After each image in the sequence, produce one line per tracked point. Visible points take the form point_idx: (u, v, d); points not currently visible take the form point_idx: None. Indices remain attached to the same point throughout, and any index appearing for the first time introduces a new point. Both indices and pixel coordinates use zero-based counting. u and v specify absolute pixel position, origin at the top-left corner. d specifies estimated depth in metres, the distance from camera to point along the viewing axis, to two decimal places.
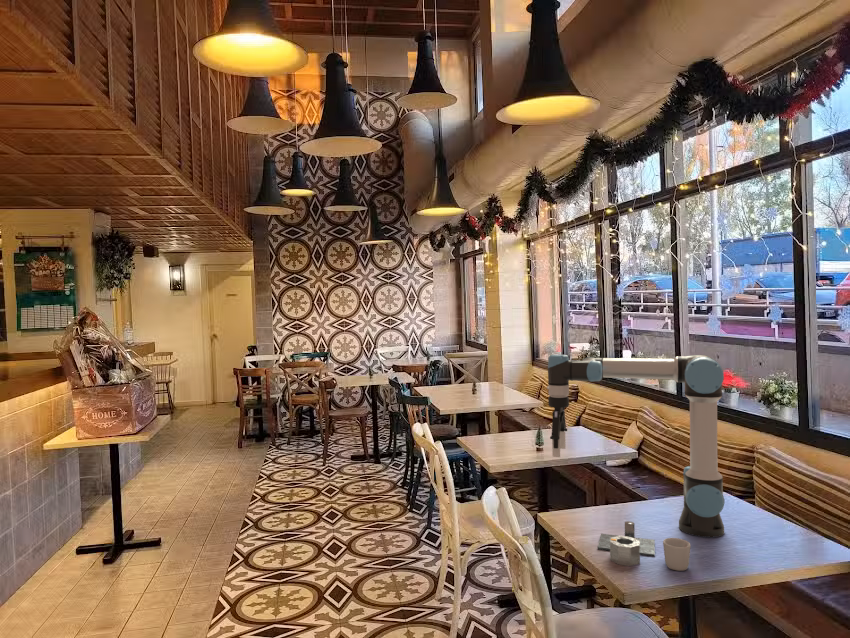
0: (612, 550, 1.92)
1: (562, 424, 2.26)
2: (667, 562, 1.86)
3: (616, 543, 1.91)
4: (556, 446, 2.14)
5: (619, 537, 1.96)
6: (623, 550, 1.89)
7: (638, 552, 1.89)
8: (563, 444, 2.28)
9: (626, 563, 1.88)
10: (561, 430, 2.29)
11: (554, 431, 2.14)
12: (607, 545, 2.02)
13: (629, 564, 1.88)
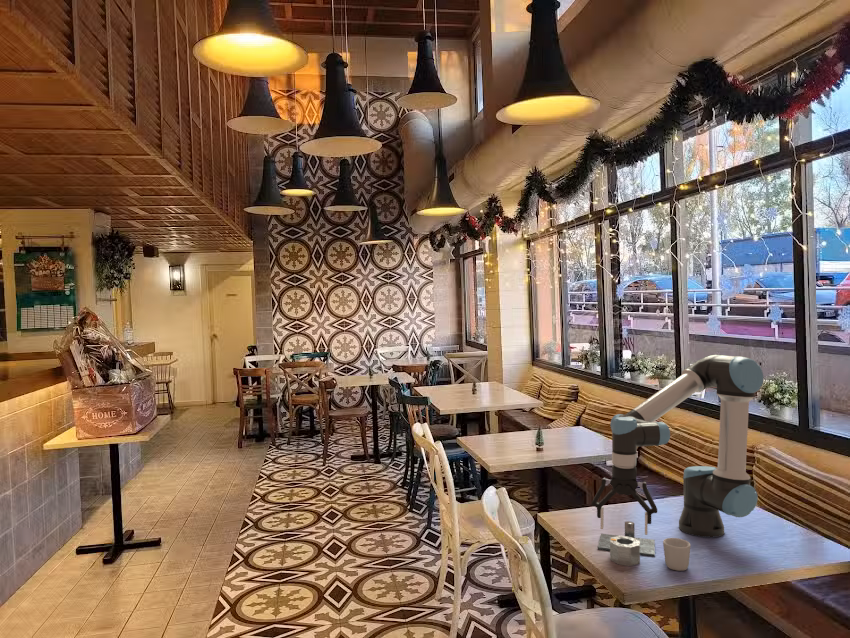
0: (612, 550, 1.92)
1: None
2: (667, 562, 1.86)
3: (616, 543, 1.91)
4: None
5: (619, 537, 1.96)
6: (623, 550, 1.89)
7: (638, 552, 1.89)
8: None
9: (626, 563, 1.88)
10: (647, 512, 1.90)
11: (594, 497, 1.96)
12: (607, 545, 2.02)
13: (629, 564, 1.88)
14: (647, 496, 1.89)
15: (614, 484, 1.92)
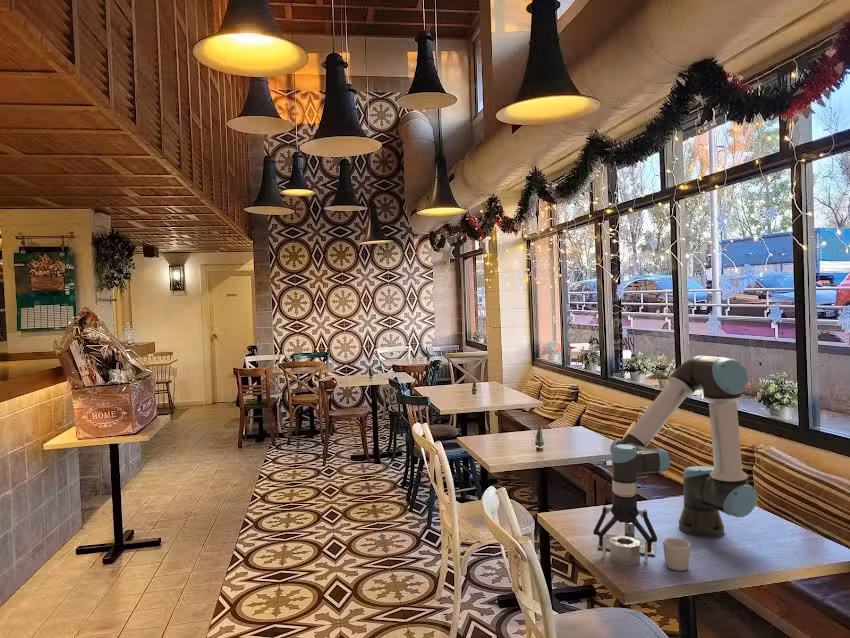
0: (612, 550, 1.92)
1: None
2: (667, 562, 1.86)
3: (616, 543, 1.91)
4: None
5: (619, 537, 1.96)
6: (623, 550, 1.89)
7: (638, 552, 1.89)
8: None
9: (626, 563, 1.88)
10: None
11: (596, 525, 1.96)
12: (607, 545, 2.02)
13: (629, 564, 1.88)
14: (647, 525, 1.89)
15: (615, 512, 1.93)
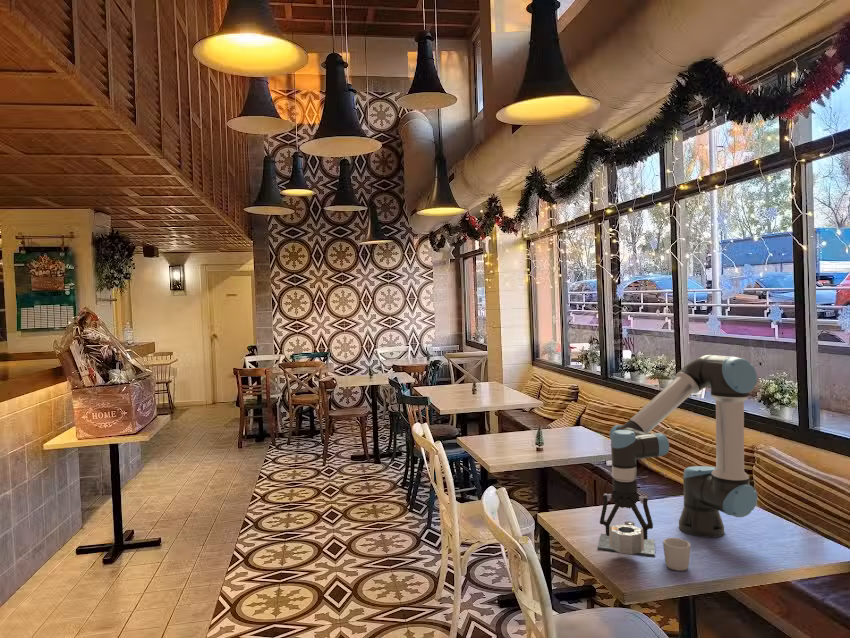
0: (613, 539, 1.92)
1: (637, 517, 1.91)
2: (667, 562, 1.86)
3: (617, 532, 1.91)
4: None
5: (621, 525, 1.97)
6: (624, 538, 1.89)
7: (639, 540, 1.89)
8: (641, 544, 1.91)
9: (628, 551, 1.89)
10: None
11: None
12: (607, 545, 2.02)
13: (631, 552, 1.88)
14: (646, 511, 1.89)
15: (615, 497, 1.93)
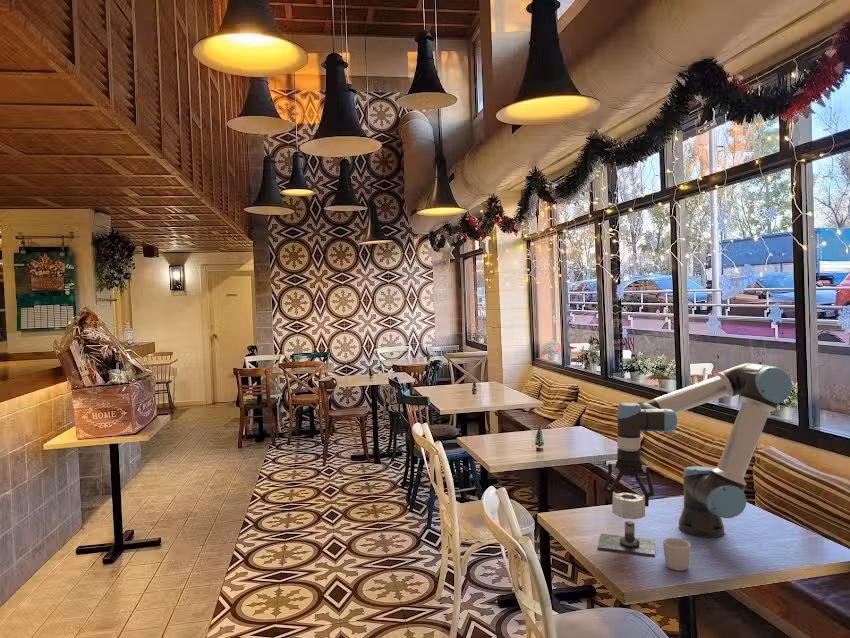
0: (616, 505, 2.03)
1: (639, 485, 2.01)
2: (667, 562, 1.86)
3: (620, 498, 2.02)
4: None
5: (623, 493, 2.07)
6: (627, 504, 1.99)
7: (641, 506, 2.00)
8: None
9: (630, 516, 1.99)
10: (644, 494, 2.02)
11: None
12: (607, 545, 2.02)
13: (632, 517, 1.99)
14: (648, 479, 2.00)
15: (620, 466, 2.03)
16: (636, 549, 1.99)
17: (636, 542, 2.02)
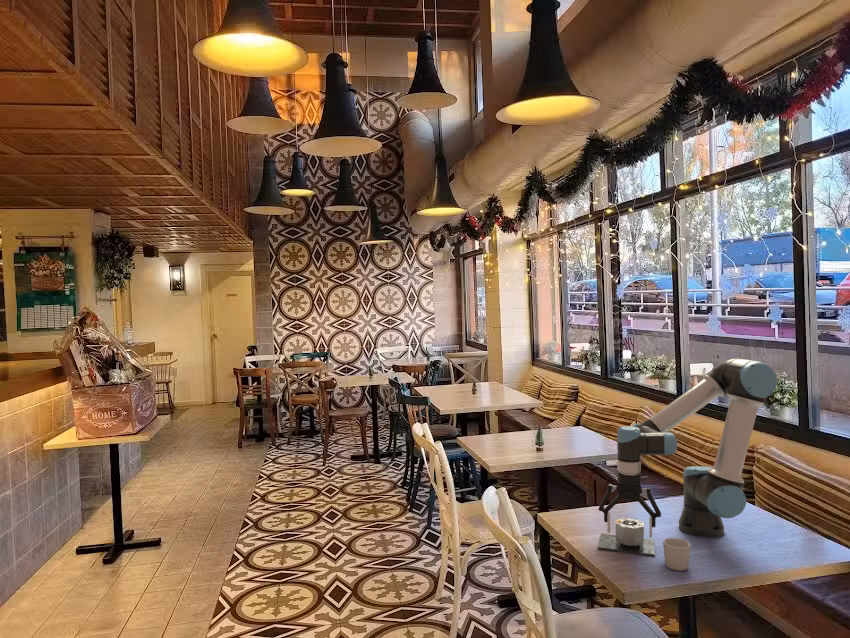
0: (617, 531, 2.03)
1: None
2: (667, 562, 1.86)
3: (621, 524, 2.02)
4: None
5: (624, 519, 2.07)
6: (628, 531, 1.99)
7: (642, 533, 2.00)
8: None
9: (631, 543, 1.99)
10: None
11: (601, 502, 2.07)
12: (607, 545, 2.02)
13: (634, 544, 1.99)
14: (651, 501, 2.00)
15: (620, 490, 2.03)
16: (636, 549, 1.99)
17: None
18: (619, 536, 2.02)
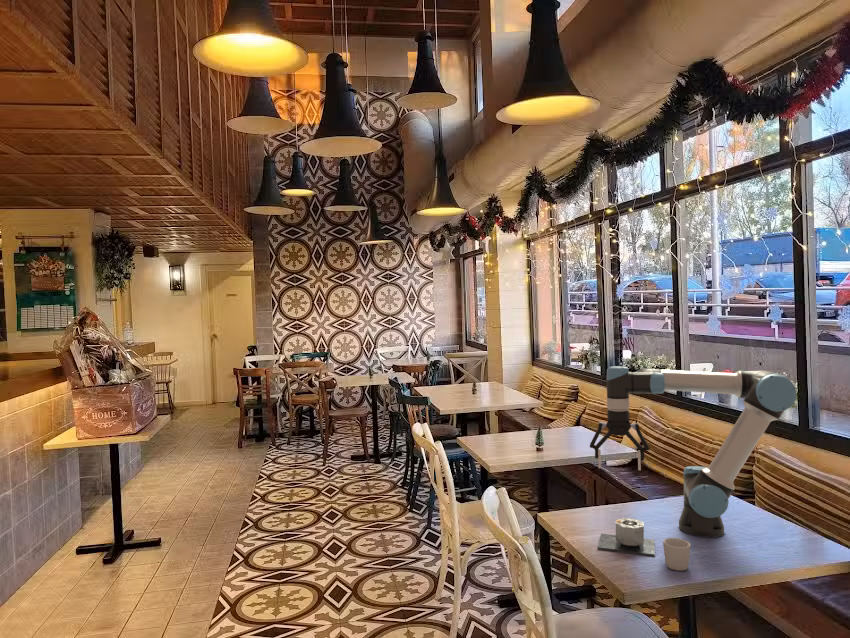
0: (617, 531, 2.03)
1: (633, 442, 2.11)
2: (667, 562, 1.86)
3: (621, 524, 2.02)
4: (595, 456, 2.15)
5: (624, 519, 2.07)
6: (628, 531, 1.99)
7: (642, 533, 2.00)
8: (638, 465, 2.10)
9: (631, 543, 1.99)
10: (640, 450, 2.11)
11: (592, 440, 2.16)
12: (607, 545, 2.02)
13: (634, 544, 1.99)
14: (640, 435, 2.10)
15: (610, 427, 2.13)
16: (636, 549, 1.99)
17: None
18: (619, 536, 2.02)
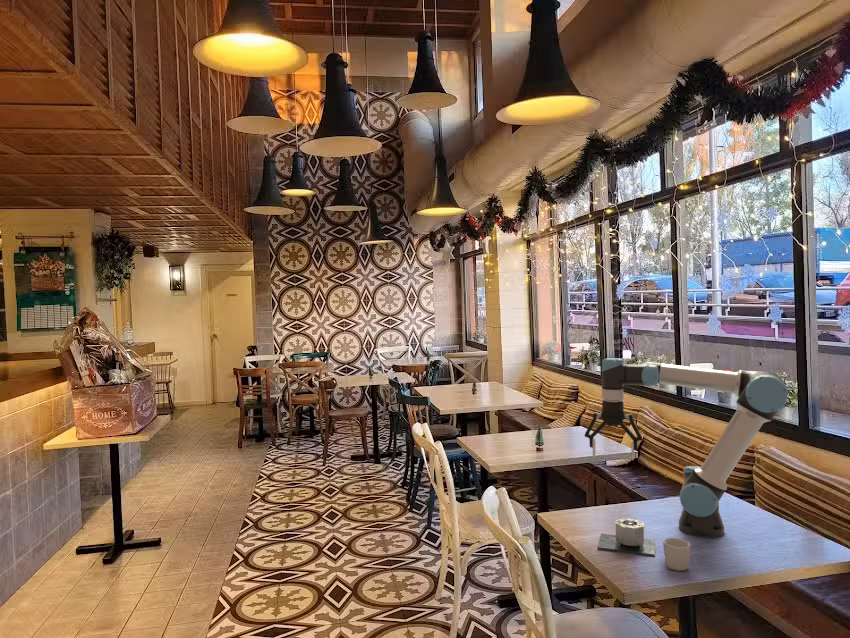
0: (617, 531, 2.03)
1: (626, 432, 2.16)
2: (667, 562, 1.86)
3: (621, 524, 2.02)
4: None
5: (624, 519, 2.07)
6: (628, 531, 1.99)
7: (642, 533, 2.00)
8: None
9: (631, 543, 1.99)
10: (633, 440, 2.16)
11: None
12: (607, 545, 2.02)
13: (634, 544, 1.99)
14: (633, 426, 2.15)
15: (604, 417, 2.18)
16: (636, 549, 1.99)
17: None
18: (619, 536, 2.02)
